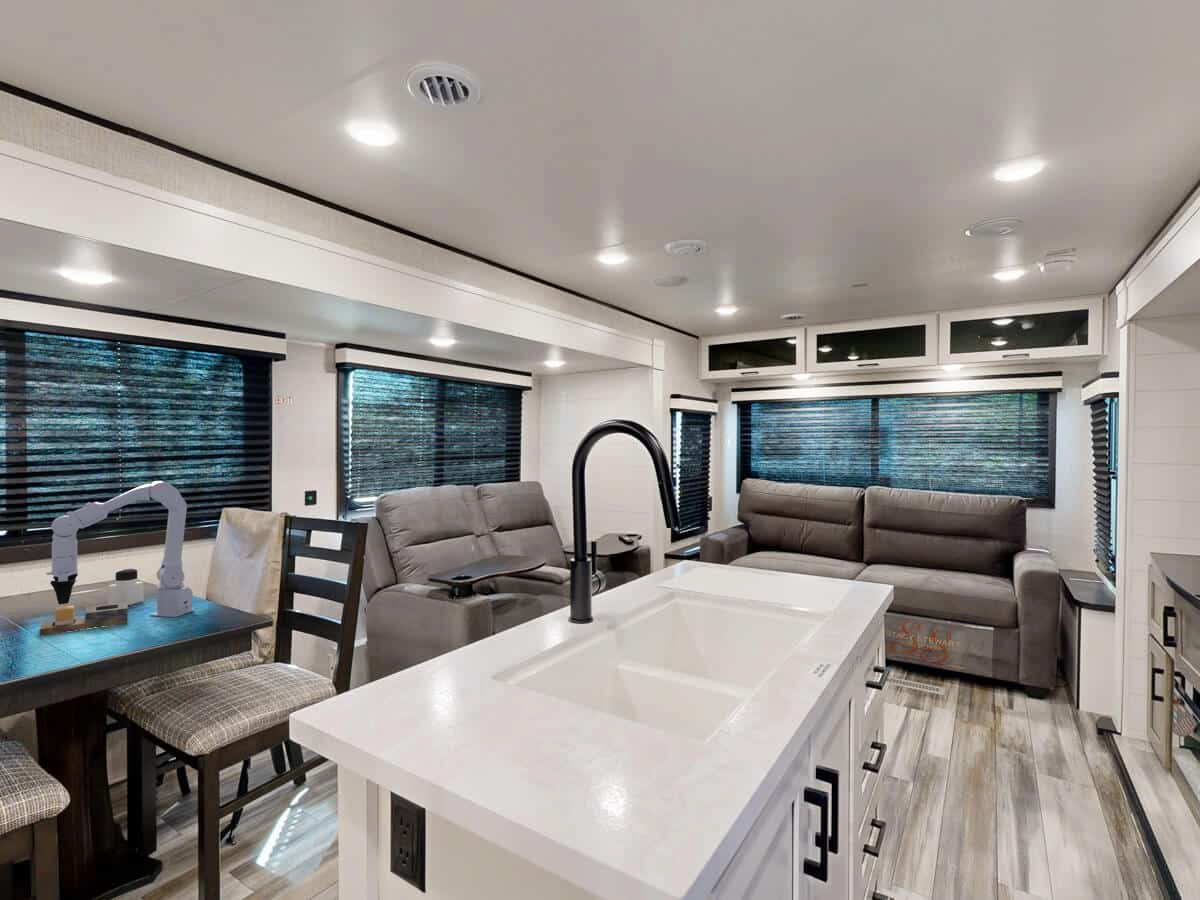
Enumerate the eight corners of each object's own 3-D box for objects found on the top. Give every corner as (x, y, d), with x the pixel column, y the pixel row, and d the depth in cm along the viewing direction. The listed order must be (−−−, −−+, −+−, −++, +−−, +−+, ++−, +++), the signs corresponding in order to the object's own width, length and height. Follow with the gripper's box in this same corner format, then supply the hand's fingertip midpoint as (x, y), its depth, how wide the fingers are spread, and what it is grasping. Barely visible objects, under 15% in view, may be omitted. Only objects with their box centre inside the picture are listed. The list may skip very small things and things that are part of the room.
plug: (73, 626, 183) (74, 605, 183) (72, 629, 180) (73, 608, 180) (56, 628, 180) (56, 607, 180) (55, 632, 177) (55, 610, 177)
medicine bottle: (144, 601, 212) (144, 568, 212) (126, 607, 205) (126, 572, 205) (125, 600, 213) (126, 567, 212) (107, 606, 205) (107, 571, 205)
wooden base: (127, 617, 193) (127, 601, 193) (127, 624, 186) (127, 608, 186) (42, 628, 180) (42, 611, 180) (39, 636, 173) (39, 618, 173)
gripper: (48, 553, 183) (48, 597, 183) (44, 561, 172) (44, 608, 172) (79, 551, 187) (79, 594, 188) (76, 558, 176) (76, 604, 176)
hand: (64, 600), depth 180 cm, fingers open, 7 cm apart
